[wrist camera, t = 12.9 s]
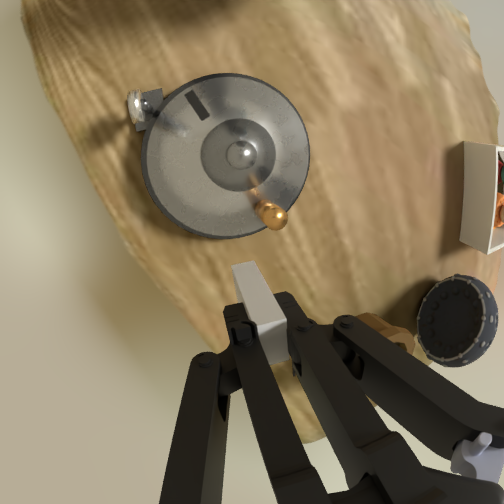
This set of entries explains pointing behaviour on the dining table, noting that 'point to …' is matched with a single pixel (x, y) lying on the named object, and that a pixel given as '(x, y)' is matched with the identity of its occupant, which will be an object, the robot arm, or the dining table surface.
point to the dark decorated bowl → (457, 321)
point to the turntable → (193, 175)
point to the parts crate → (481, 197)
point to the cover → (238, 154)
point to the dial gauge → (143, 106)
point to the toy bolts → (499, 199)
